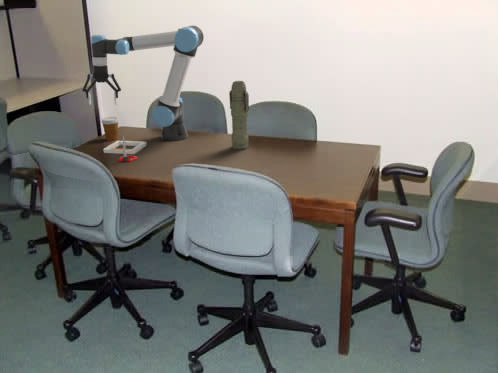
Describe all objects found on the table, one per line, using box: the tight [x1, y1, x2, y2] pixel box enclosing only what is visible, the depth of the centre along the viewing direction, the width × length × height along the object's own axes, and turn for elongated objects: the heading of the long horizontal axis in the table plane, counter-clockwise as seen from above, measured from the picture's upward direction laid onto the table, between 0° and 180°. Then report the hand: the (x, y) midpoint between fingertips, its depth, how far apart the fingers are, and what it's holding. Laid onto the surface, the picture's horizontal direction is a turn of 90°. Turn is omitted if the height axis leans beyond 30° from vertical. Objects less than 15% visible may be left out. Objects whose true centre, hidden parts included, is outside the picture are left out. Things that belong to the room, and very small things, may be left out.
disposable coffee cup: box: [101, 116, 119, 142], centre depth 314 cm, size 10×10×12 cm
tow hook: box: [118, 135, 138, 163], centre depth 278 cm, size 8×13×9 cm
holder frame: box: [103, 140, 148, 155], centre depth 297 cm, size 17×17×2 cm
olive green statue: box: [228, 80, 250, 150], centre depth 290 cm, size 9×12×35 cm
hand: (102, 104), depth 303 cm, fingers open, 13 cm apart
